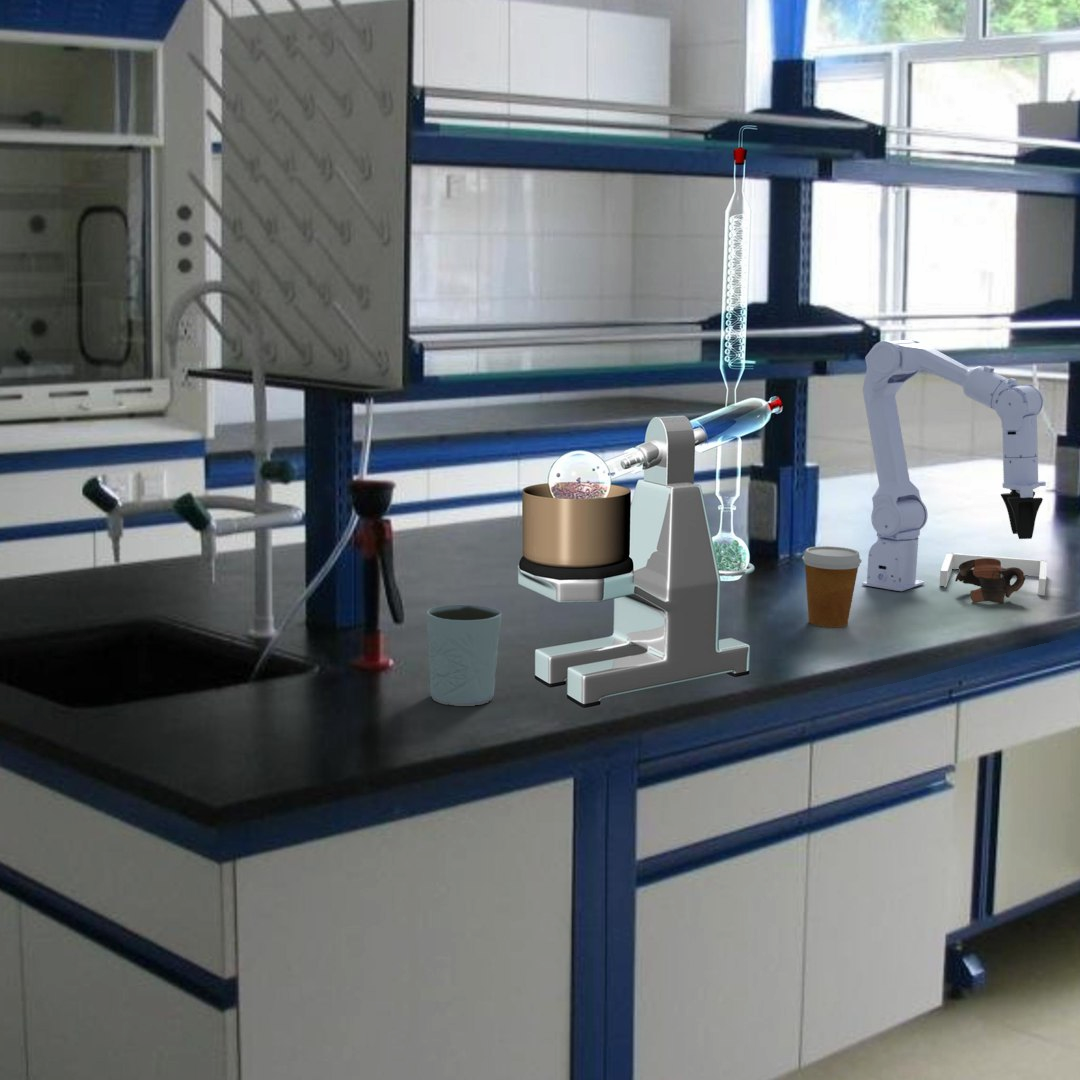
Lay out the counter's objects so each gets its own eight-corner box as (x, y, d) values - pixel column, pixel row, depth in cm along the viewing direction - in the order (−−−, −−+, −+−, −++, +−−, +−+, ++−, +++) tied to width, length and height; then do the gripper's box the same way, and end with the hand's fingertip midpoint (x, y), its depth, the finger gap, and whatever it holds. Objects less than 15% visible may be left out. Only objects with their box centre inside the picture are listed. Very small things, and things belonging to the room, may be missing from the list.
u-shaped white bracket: (1044, 595, 317) (1046, 579, 317) (939, 586, 322) (940, 570, 322) (1045, 575, 334) (1047, 560, 334) (946, 567, 339) (947, 552, 339)
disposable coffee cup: (813, 631, 285) (818, 557, 283) (789, 617, 294) (793, 546, 292) (867, 628, 288) (872, 556, 286) (841, 615, 297) (846, 545, 295)
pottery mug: (954, 604, 310) (949, 560, 313) (965, 619, 318) (959, 575, 321) (1024, 594, 306) (1018, 549, 309) (1033, 608, 314) (1027, 564, 317)
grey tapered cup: (426, 708, 236) (428, 620, 234) (423, 687, 246) (424, 603, 244) (502, 708, 237) (505, 620, 235) (496, 687, 247) (498, 603, 245)
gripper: (1051, 458, 295) (1052, 540, 296) (1038, 452, 309) (1040, 530, 311) (1007, 460, 296) (1009, 541, 297) (996, 454, 310) (998, 531, 312)
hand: (1022, 536), depth 304 cm, fingers open, 7 cm apart
